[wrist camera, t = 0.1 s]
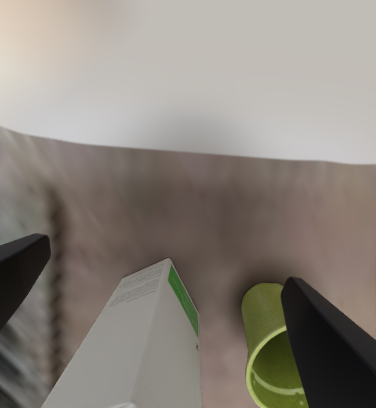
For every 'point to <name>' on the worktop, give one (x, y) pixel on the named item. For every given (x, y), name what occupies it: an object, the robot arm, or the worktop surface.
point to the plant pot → (270, 351)
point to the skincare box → (138, 349)
